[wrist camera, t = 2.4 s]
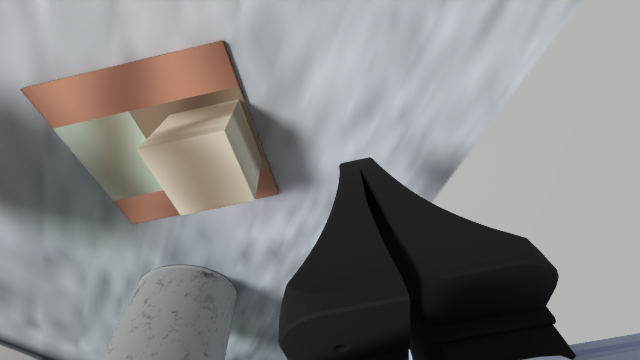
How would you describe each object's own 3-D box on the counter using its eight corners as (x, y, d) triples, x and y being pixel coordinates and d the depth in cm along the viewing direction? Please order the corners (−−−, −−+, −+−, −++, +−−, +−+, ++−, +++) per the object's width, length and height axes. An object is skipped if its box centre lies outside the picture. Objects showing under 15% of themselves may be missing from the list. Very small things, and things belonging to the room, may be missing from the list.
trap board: (223, 40, 15) (221, 41, 15) (278, 191, 22) (278, 194, 22) (24, 87, 16) (19, 89, 16) (134, 221, 22) (132, 224, 22)
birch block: (239, 99, 17) (224, 130, 13) (261, 159, 20) (254, 200, 16) (169, 114, 17) (136, 149, 14) (201, 173, 20) (180, 215, 16)
